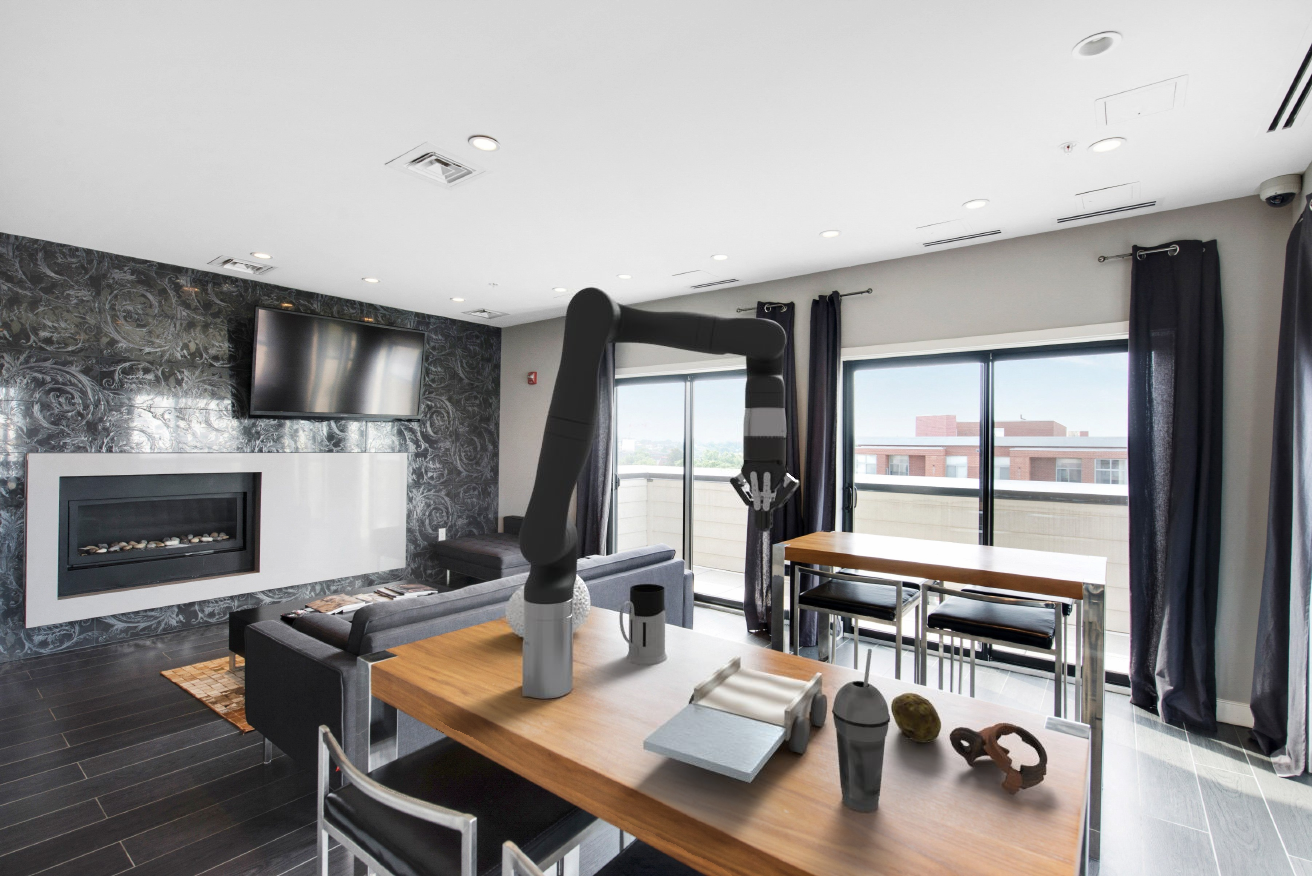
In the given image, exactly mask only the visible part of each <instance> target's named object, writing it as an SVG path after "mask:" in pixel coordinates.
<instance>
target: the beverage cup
mask: <svg viewBox="0 0 1312 876" xmlns="http://www.w3.org/2000/svg"><path fill="white" fill-rule="evenodd" d="M872 652H873V649H871V648H867V655H866V663H865V670H864V677H863V678H864V679H863V680H853V681H850V682H848V683H846V684H844V685H843V686H841V687H840V689H839V690H838V691H837V692H836V695H835V698H834V701H833V706H832V710H831V712H832V714H833V715H832V716H833V723H834V728H835V731H836V733H835V734H836V744H837V745H836V746H837V747H836V748H837V756H838V770H839V771H838V772H839V784H840V788H841V789H840V790H841V798H842V799H841V800H842V802H843V804H844V805H845V806H846V807H848V808H849V809H851V810H854V811H856V812H861V813H871V812H874V811H876V810H878V808H879V801H880V800H879V799H880V797H881V786H882V776H883V767H884V765H883V764H884V757H885V756H884V755H885V746H886V745H885V744H886V737H887V736H888V730H889V724H890V722H891V716H890V712H889V711H890V710H889V706H888V703H887V700H886V698H885V697H884V695H883V694H882V692H881V691H880V690H879V689H878V688H877V687H875V686H874V685H873V684H871V683H869V678H870V676H869V675H870V670H871V669H870V668H871V661H872Z"/></svg>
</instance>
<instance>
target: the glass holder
mask: <svg viewBox="0 0 1312 876" xmlns="http://www.w3.org/2000/svg"><path fill="white" fill-rule="evenodd" d="M665 592H666V591H665V586H663V585H659V584H656V583H655V584H653V583H641V584H635V585H631V586H630V587H629V601H628V600H627V601H624V603H622V605H621V606H620V610H619V615H618V616H619V617H618V619H619V628H620V633H621V634H622V638H623V639H624V641H626V643H627V644H628V653H627V655H626V660H627V661H629V662H630V663H632V664H637V665H641V666H642V665H643V666H645V665H646V666H650V664H653V665H658V664H662V663H664V662H665V661H666V660H667V659H668V656H667V653H666V604H665V596H666V595H665ZM627 605H629V610H628V636H627V634H626V631H625V627H624V620H623V619H624V610H625V607H626V606H627ZM663 661H664V662H663ZM661 662H662V663H661ZM657 663H658V664H657Z"/></svg>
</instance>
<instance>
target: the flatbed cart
mask: <svg viewBox="0 0 1312 876" xmlns="http://www.w3.org/2000/svg"><path fill="white" fill-rule="evenodd" d="M689 704H694V705H697V706H701V707H705V708H709V709H713V710H717V711H721V712H724V713H728V714H732V715H736V716H740V717H744V718H748V719H751V720H755V721H759V722H763V723H767V724H771V725H775V726H778V727H782V728H786V738H785V739H784V740H783V741H788V745H789V749H790V751H791V752H794V753H798V754H801V755H804V754H805V753H806V751H807V748H808V745H809V740H810V725H811V726H816V727H820V728H823V726H824V725H825V724H826V723H825V722H826V719H827V714H828V698H827V695H826V694H823V673H821V672H816V674H815V675H814V676H813V677H812V678H811V679H810V681H807V680H806V681H805V680H802V679H796V678H792V677H787V676H782V675H778V674H772V673H768V672H765V671H759V670H754V669H750V668H744V667H742V666H741V656H739V655H736V656H735V657H733V658H732V659H730V660H729V661H728V662H727V663H725V664H724V665H722V666H721V667H720V668H719V669H717V670H716V671H715V672H713V673H712V674H710V675H709V676H708V677H707V678H705V679H704V680H703V681H701V682H700V683H698V685H695V687H694V688H693V693H692V695H691V696H690V698H689V700H688V704H687V705H689ZM807 717H808V718H807Z"/></svg>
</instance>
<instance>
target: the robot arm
mask: <svg viewBox="0 0 1312 876" xmlns="http://www.w3.org/2000/svg"><path fill="white" fill-rule="evenodd" d="M564 321H565V323H564V331H563V340H562V341H563V343H562V350H561V358H560V362H559V366H558V371H557V374H556V378H555V383H554V387H553V392H552V395H551V398H550V399H551V400H550V404H549V408H548V412H547V416H546V421H545V424H544V425H545V426H544V431H543V434H542V435H543V436H542V441H541V446H540V447H541V448H540V451H539V457H538V462H537V466H536V474H535V478H534V479H535V480H534V484H533V488H532V492H531V495H530V499H529V501H528V504H527V508H526V510H525V514H524V517H523V520H522V523H521V526H520V530H519V534H518V546H519V551H520V553H521V555H522V557H523V558H524V559H525V561H527V563H529V564H530V570H529V572H528V573H529V574H528V577H527V579H526V581H525V583H524V584H525V585H524V584H523V585H524V638H523V641H522V686H521V687H522V690H521V691H522V692H521V693H522V697H528V698H529V697H531V698H533V699H543V700H546V699H547V700H548V699H555V698H559V697H563V696H565V695H568V694H569V693H571V692H572V690H573V687H574V633H573V591H574V585H575V581H576V575H578V574H577V573H578V549H579V548H578V547H579V545H578V543H579V541H578V531H577V527H576V524H575V523H574V521H573V519H572V518H571V517H570V515H569V512H570V504H571V501H572V496H573V494H574V490H575V488H576V485H577V483H578V482H579V480H580V479H579V478H580V477H581V474H582V472H583V470H584V468H585V466H586V464H587V461H588V459H589V457H590V454H591V451H592V447H593V444H594V440H595V434H596V430H597V424H598V421H599V420H598V419H599V413H600V411H599V410H600V409H599V408H600V387H599V386H600V385H599V384H600V383H599V379H600V377H599V375H600V367H601V361H602V358H603V355H604V350H605V347H606V344H624V343H625V344H626V343H627V344H629V343H631V344H643V345H644V344H645V345H646V344H647V345H655V346H661V347H666V348H667V347H668V348H673V349H677V350H682V351H683V350H684V351H690V352H694V353H702V354H708V355H714V356H715V355H716V356H719V355H720V356H721V355H722V356H723V355H727V354H729V355H735V356H736V355H737V356H742V357H745V369H746V382H745V387H744V408H745V409H744V414H743V415H744V417H743V423H742V424H743V425H742V426H743V428H742V429H743V433H742V434H743V435H742V436H743V439H742V443H743V444H742V445H743V446H742V447H743V448H742V452H743V453H742V459H743V463H742V466H741V468H740V473H739V474H737V475H736V476H735V477H731V478H730V479H729V483H730V484H731V486H732V487H733V489H734V490H735V492H736V493H737V495H738V496H739V497H740V499H741V500H742V502H743V503H744V505H745V506H746V507H751V508H752V509H753V510H754V526H755V528H757V531H758V532H763V533H767V532H770V529H771V528H773V525H774V522H773V521H774V518H773V517H774V516H773V515H774V510H775V509H778V508H782V507H783V506H784V505H785V503H786V502H787V501H788V500H789V499H790V498H791V497H792V495H793V494H794V492H795V491H796V490H797V488H799V486H800V485H801V481H800V480H799V479H796V478H794V477H793V476H791V475H790V474H789V468H788V466H787V464H786V463H787V462H786V461H787V433H788V431H787V419H786V418H787V417H786V410H785V408H786V403H785V402H786V387H785V381H784V378H783V377H784V376H783V374H784V354H785V353H784V352H785V347H786V345H787V334H786V331H785V330H784V328H783V327H782V325H780V324H779V323H778V322H776V321H775V320H771V319H768V318H761V317H742V316H740V317H738V316H737V317H736V316H735V317H731V316H730V317H729V316H728V317H727V316H723V315H720V314H717V315H716V314H713V313H704V312H697V311H684V310H683V311H681V310H680V311H679V310H678V311H677V310H676V311H675V310H674V311H654V310H645V309H640V308H635V307H632V306H629V305H625V304H622V303H619V302H616V301H615V299H613V298H612V297H611V296H610V295H609V294H608V293H606V291H603V290H602V289H600V288H598V287H593V286H591V287H590V286H589V287H585V288H582V289H580V290H579V291H578V292H576V293H575V294H574V295H573V296H572V297H571V299H570V301H569V303H568V305H567V309H566V313H565V320H564ZM782 483H783V489H782V490H781V492H780V493H779V494H778V495H777V490H778V489H779V488H780V486H781V485H782ZM746 484H748V486H749V488H750V489H751V491H750V490H749V489H748V487H747V486H746ZM776 495H777V497H776Z"/></svg>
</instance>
